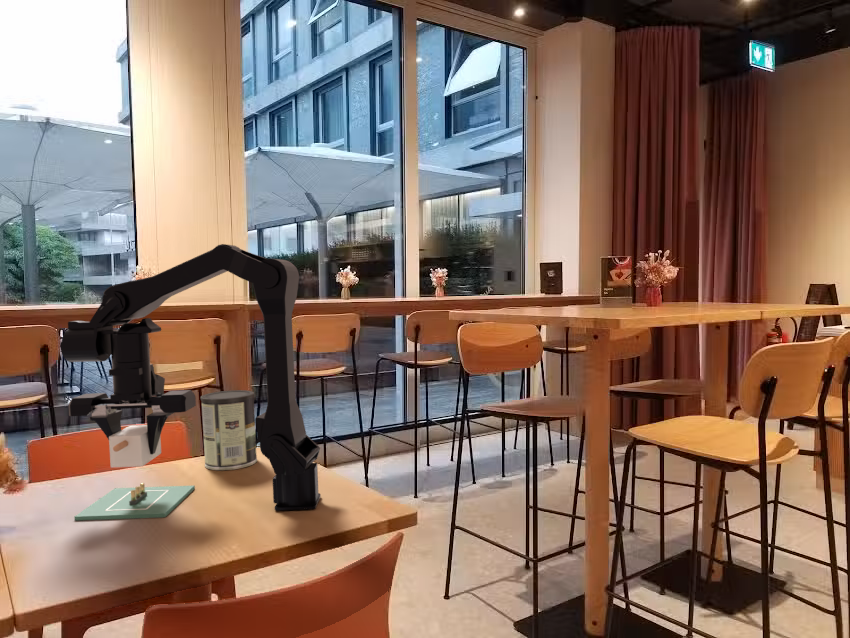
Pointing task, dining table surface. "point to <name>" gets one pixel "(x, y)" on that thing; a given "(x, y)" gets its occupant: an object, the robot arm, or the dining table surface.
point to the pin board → (136, 503)
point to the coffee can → (229, 429)
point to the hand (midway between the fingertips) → (136, 454)
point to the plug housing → (131, 447)
